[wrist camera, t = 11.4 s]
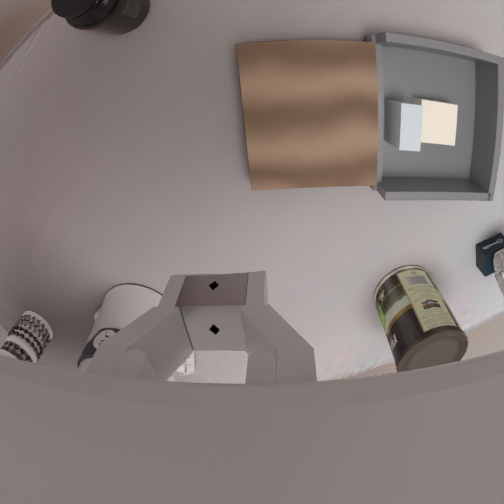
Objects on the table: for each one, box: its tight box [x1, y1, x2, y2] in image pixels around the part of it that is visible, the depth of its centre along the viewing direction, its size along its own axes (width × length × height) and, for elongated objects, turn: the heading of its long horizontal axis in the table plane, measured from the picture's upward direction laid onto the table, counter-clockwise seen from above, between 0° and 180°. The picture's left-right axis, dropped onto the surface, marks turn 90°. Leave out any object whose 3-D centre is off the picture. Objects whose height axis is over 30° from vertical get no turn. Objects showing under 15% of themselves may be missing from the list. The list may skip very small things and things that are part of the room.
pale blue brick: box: [384, 99, 423, 151], centre depth 30 cm, size 5×5×2 cm
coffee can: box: [374, 265, 468, 372], centre depth 40 cm, size 10×10×14 cm
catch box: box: [364, 32, 504, 201], centre depth 29 cm, size 18×16×6 cm
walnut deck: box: [236, 40, 378, 190], centre depth 32 cm, size 16×14×4 cm
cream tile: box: [413, 97, 458, 146], centre depth 30 cm, size 5×5×2 cm
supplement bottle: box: [51, 0, 150, 34], centre depth 22 cm, size 7×7×12 cm
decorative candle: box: [0, 311, 53, 363], centre depth 46 cm, size 9×9×25 cm
